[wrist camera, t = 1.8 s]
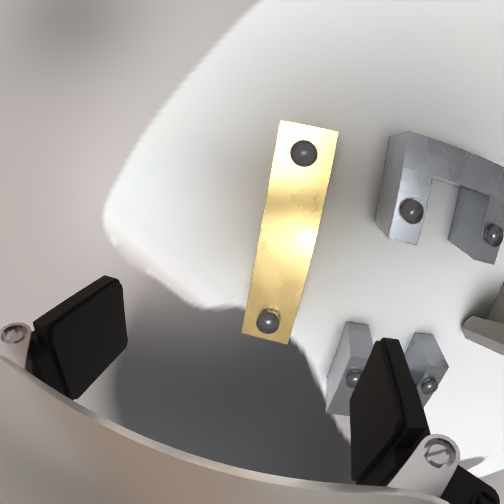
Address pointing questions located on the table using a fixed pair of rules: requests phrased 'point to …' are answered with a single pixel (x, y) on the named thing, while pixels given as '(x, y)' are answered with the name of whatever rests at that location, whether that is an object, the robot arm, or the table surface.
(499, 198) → the bracket
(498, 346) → the digital clock
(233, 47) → the table surface
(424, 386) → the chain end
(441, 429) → the table surface
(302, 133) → the link bar
